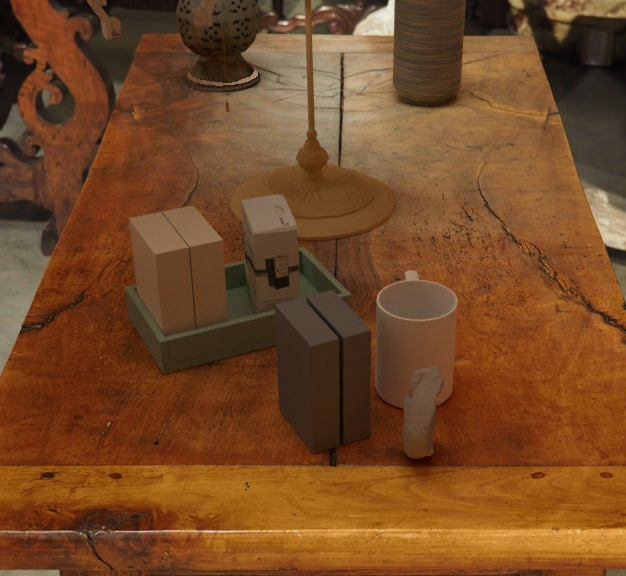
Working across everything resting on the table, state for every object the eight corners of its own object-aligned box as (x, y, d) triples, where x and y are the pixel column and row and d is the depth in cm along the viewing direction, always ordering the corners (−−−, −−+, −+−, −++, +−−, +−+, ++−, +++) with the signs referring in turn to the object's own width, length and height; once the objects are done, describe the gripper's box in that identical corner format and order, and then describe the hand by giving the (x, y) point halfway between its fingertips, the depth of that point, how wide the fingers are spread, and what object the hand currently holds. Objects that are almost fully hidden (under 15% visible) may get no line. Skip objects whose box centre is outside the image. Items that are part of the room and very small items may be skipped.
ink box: (244, 289, 124) (239, 196, 118) (286, 284, 125) (283, 191, 119) (257, 328, 116) (252, 231, 110) (302, 322, 118) (299, 226, 112)
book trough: (163, 374, 110) (160, 342, 108) (128, 317, 120) (124, 286, 118) (351, 325, 119) (351, 294, 117) (304, 275, 129) (304, 246, 127)
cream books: (165, 356, 111) (154, 254, 105) (139, 315, 118) (128, 217, 112) (229, 339, 114) (223, 239, 108) (201, 301, 121) (193, 205, 115)
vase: (409, 113, 177) (414, -28, 165) (381, 90, 186) (383, -45, 174) (472, 104, 181) (480, -34, 169) (441, 82, 190) (447, -50, 179)
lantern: (174, 90, 184) (161, -59, 172) (190, 64, 196) (179, -77, 184) (255, 93, 184) (249, -57, 171) (266, 66, 196) (261, -75, 184)
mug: (457, 410, 106) (462, 319, 100) (377, 412, 105) (378, 321, 100) (444, 343, 116) (448, 258, 111) (371, 345, 116) (372, 259, 111)
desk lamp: (192, 246, 135) (165, -85, 115) (203, 171, 155) (182, -121, 135) (436, 240, 137) (451, -85, 117) (416, 167, 157) (426, -121, 137)
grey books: (312, 454, 99) (310, 346, 93) (278, 408, 106) (274, 304, 100) (370, 436, 102) (371, 329, 96) (333, 392, 108) (333, 289, 102)
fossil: (431, 482, 96) (436, 391, 91) (393, 475, 97) (396, 385, 92) (443, 443, 101) (448, 354, 96) (407, 437, 102) (410, 349, 97)
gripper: (41, -99, 95) (62, 54, 102) (257, -114, 103) (262, 27, 110) (26, -111, 100) (47, 36, 107) (233, -125, 108) (240, 12, 115)
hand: (158, 31), depth 108 cm, fingers open, 8 cm apart
